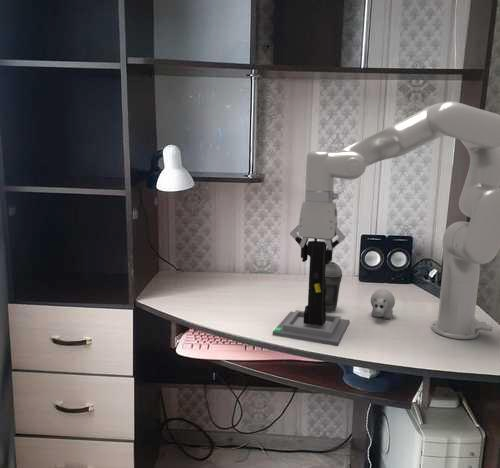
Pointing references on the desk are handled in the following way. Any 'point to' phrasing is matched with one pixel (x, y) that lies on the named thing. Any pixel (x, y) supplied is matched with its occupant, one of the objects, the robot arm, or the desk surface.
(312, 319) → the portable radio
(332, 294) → the beverage cup
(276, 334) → the charging dock
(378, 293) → the chubby cartoon animal
